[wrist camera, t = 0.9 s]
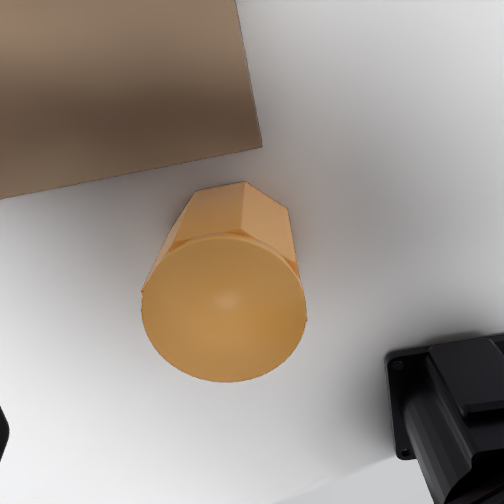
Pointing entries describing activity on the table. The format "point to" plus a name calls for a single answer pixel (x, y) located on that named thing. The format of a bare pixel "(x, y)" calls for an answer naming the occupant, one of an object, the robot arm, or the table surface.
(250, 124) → the wooden board with peg
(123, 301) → the table surface
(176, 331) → the orange wooden cylinder
